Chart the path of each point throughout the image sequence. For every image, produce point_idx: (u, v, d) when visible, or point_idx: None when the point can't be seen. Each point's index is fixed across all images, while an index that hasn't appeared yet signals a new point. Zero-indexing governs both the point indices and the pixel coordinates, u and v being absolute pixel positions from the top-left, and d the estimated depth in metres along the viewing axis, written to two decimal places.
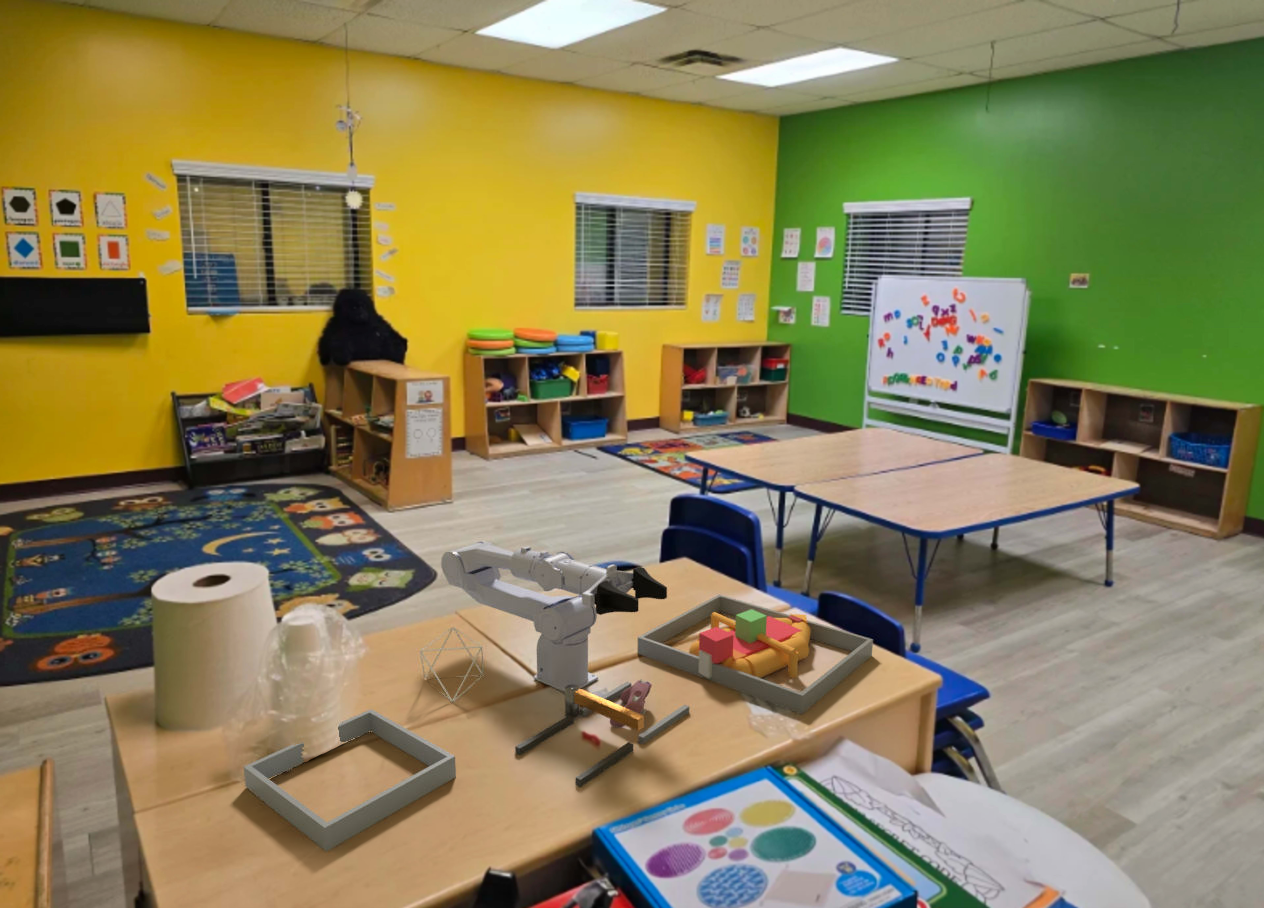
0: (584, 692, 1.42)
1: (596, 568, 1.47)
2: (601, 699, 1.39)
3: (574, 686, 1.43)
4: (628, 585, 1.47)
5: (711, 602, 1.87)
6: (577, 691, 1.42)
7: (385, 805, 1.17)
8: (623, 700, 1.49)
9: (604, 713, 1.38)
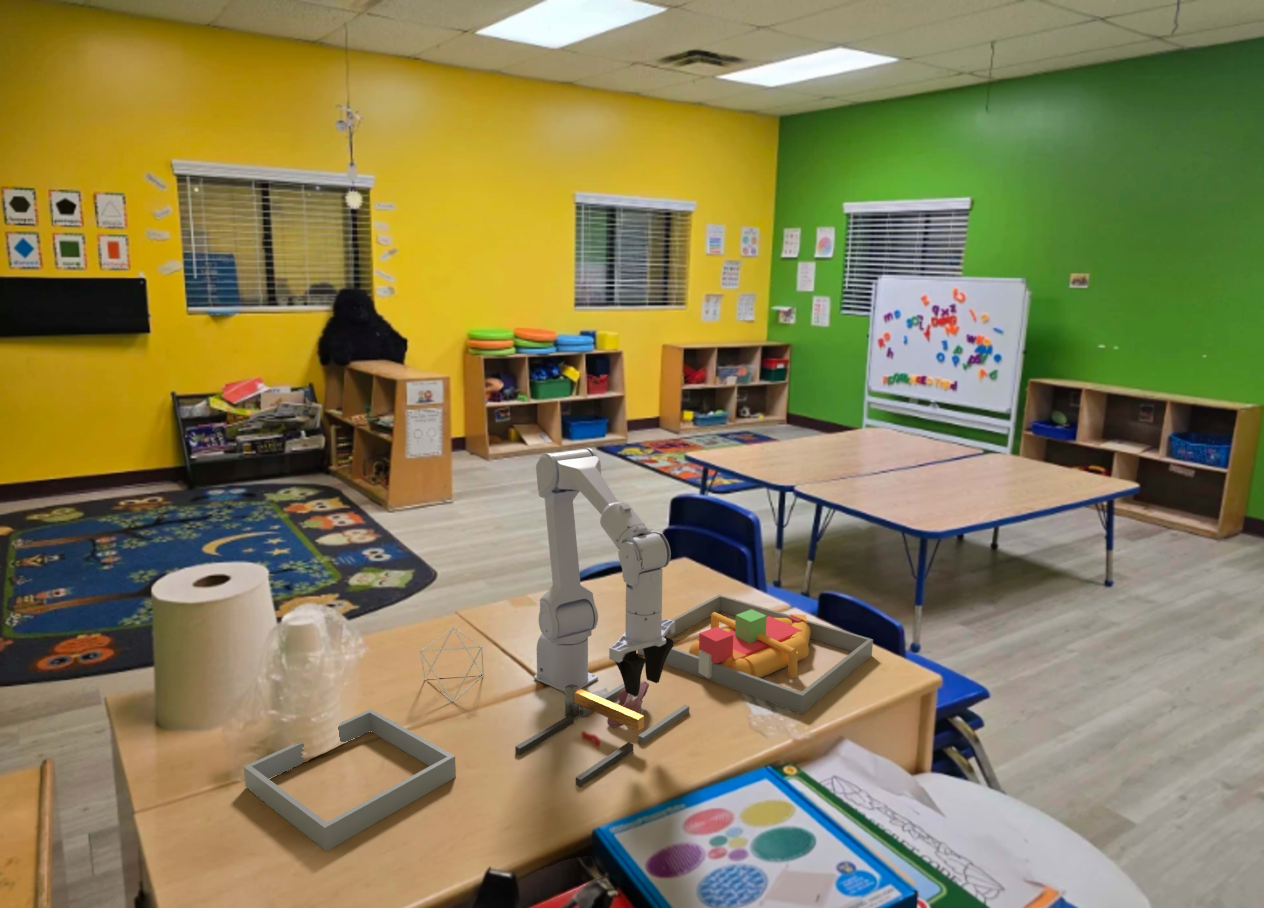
0: (584, 692, 1.42)
1: (656, 621, 1.31)
2: (601, 699, 1.39)
3: (574, 686, 1.43)
4: None
5: (711, 602, 1.87)
6: (577, 691, 1.42)
7: (385, 805, 1.17)
8: (620, 700, 1.49)
9: (604, 713, 1.38)
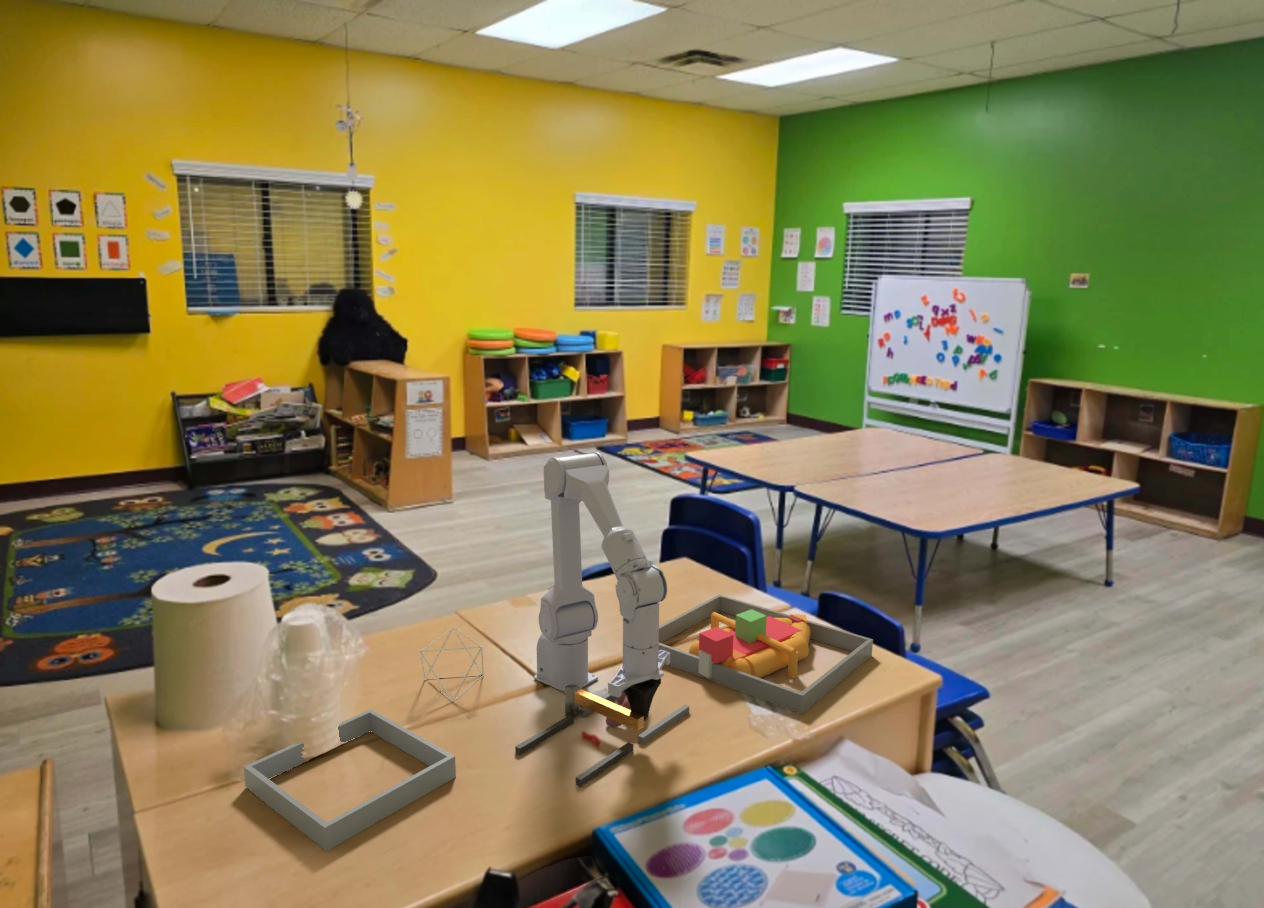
0: (584, 692, 1.42)
1: (654, 654, 1.32)
2: (601, 699, 1.39)
3: (574, 686, 1.43)
4: None
5: (711, 602, 1.87)
6: (577, 691, 1.42)
7: (385, 805, 1.17)
8: (619, 700, 1.49)
9: (604, 713, 1.38)
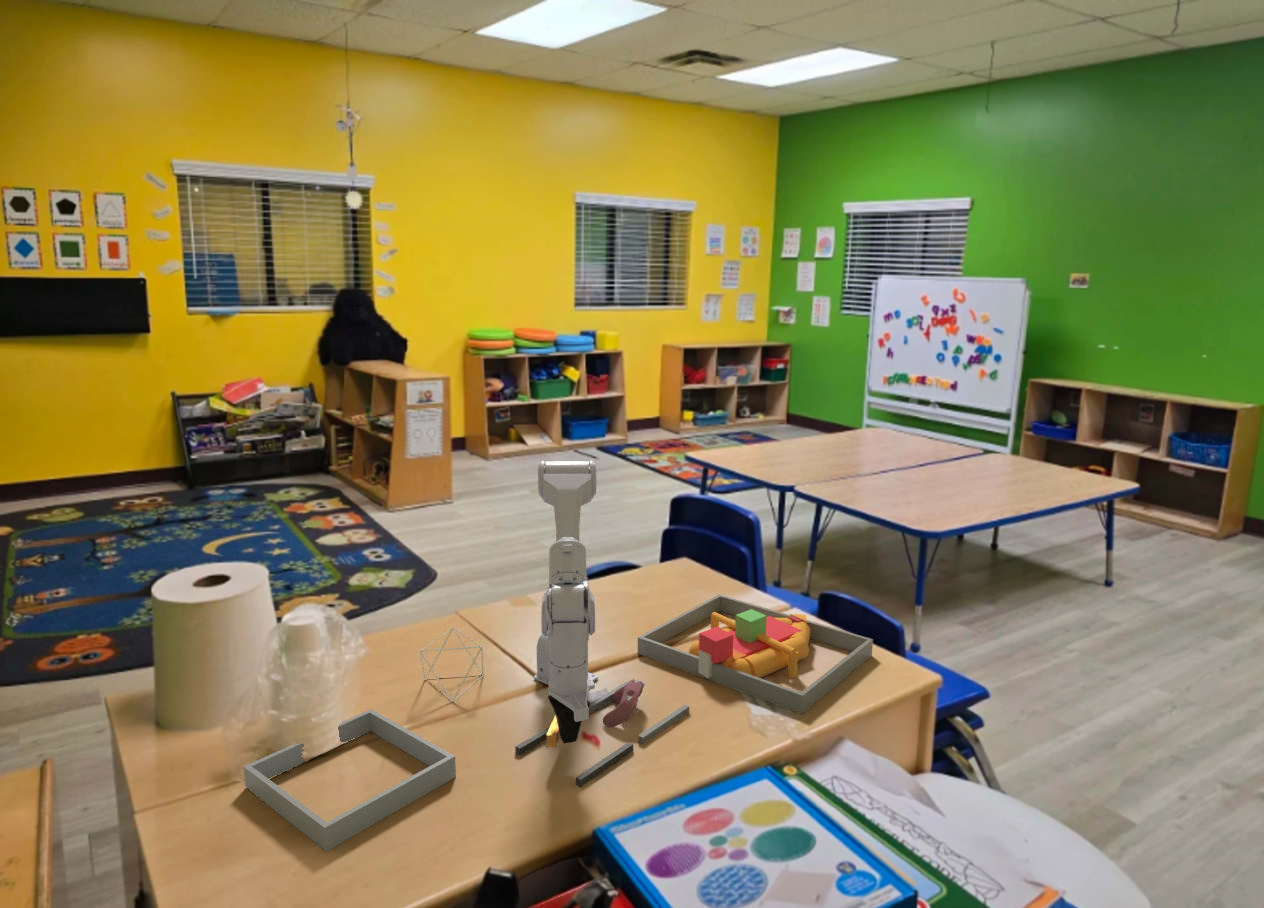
0: None
1: None
2: None
3: None
4: None
5: (711, 602, 1.87)
6: None
7: (385, 805, 1.17)
8: (616, 700, 1.49)
9: None
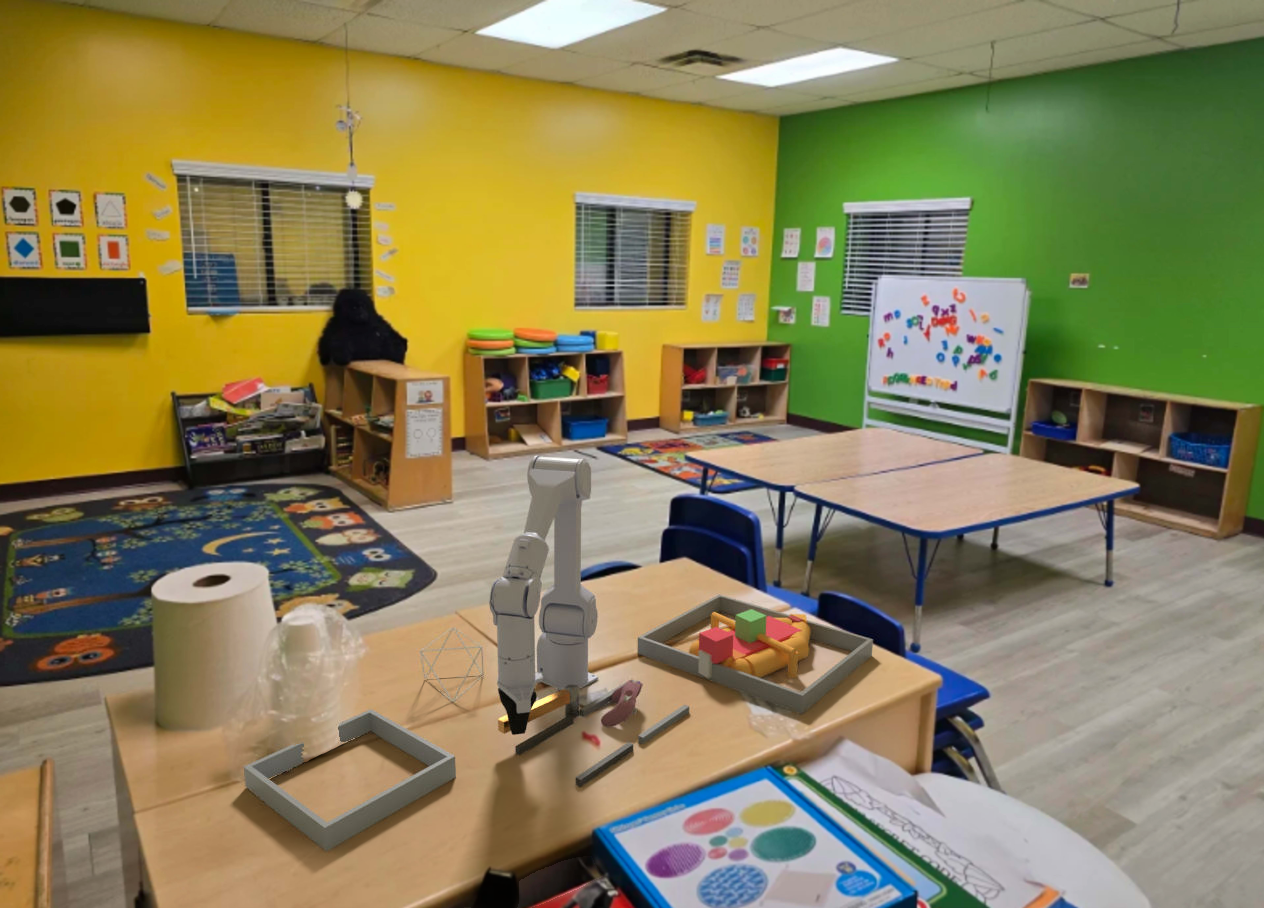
0: (561, 693, 1.41)
1: None
2: (544, 702, 1.38)
3: (573, 688, 1.43)
4: None
5: (711, 602, 1.87)
6: (563, 690, 1.42)
7: (385, 805, 1.17)
8: (614, 700, 1.49)
9: None
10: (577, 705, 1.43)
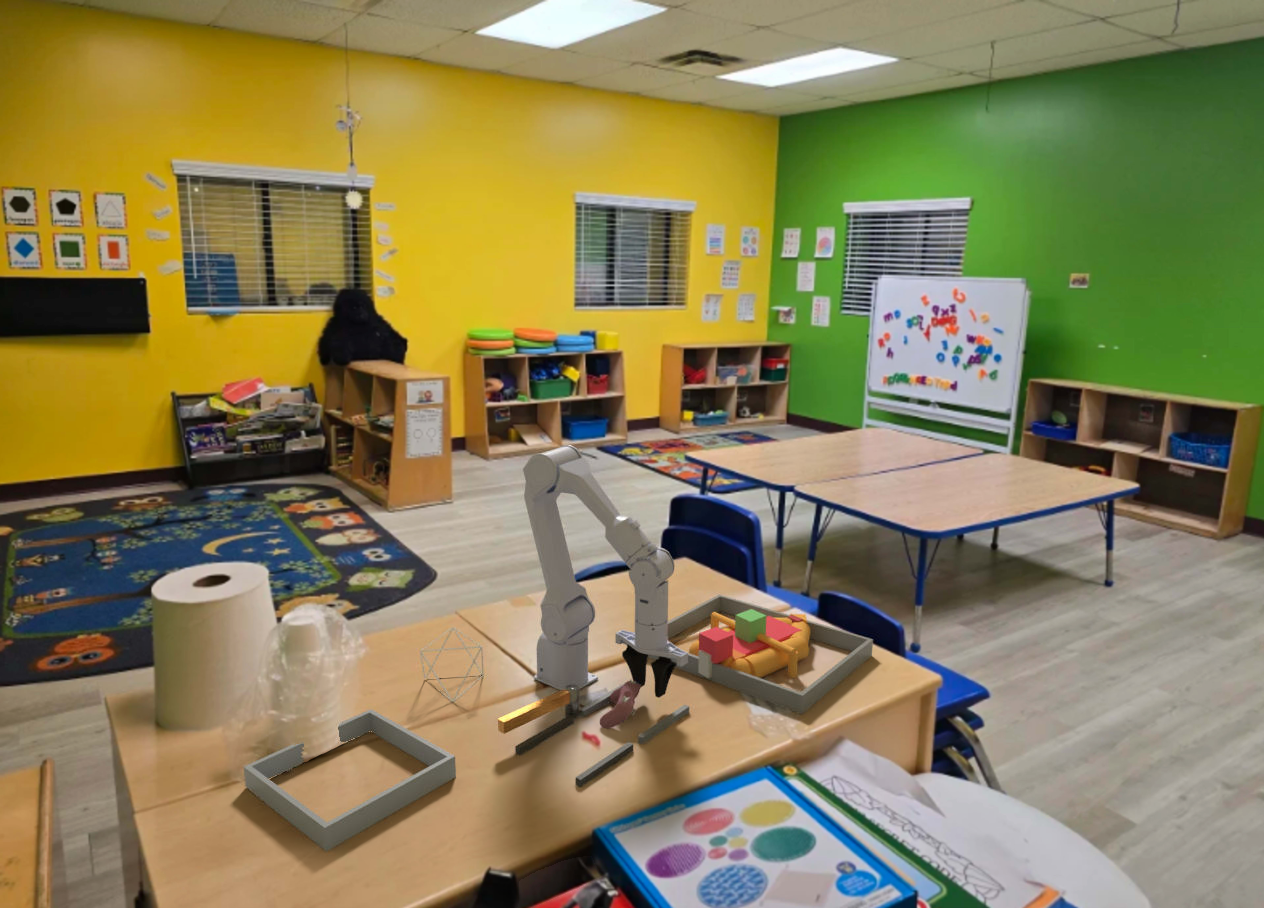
0: (561, 693, 1.41)
1: None
2: (544, 702, 1.38)
3: (573, 688, 1.43)
4: None
5: (711, 602, 1.87)
6: (563, 690, 1.42)
7: (385, 805, 1.17)
8: (613, 701, 1.49)
9: None
10: (577, 705, 1.43)
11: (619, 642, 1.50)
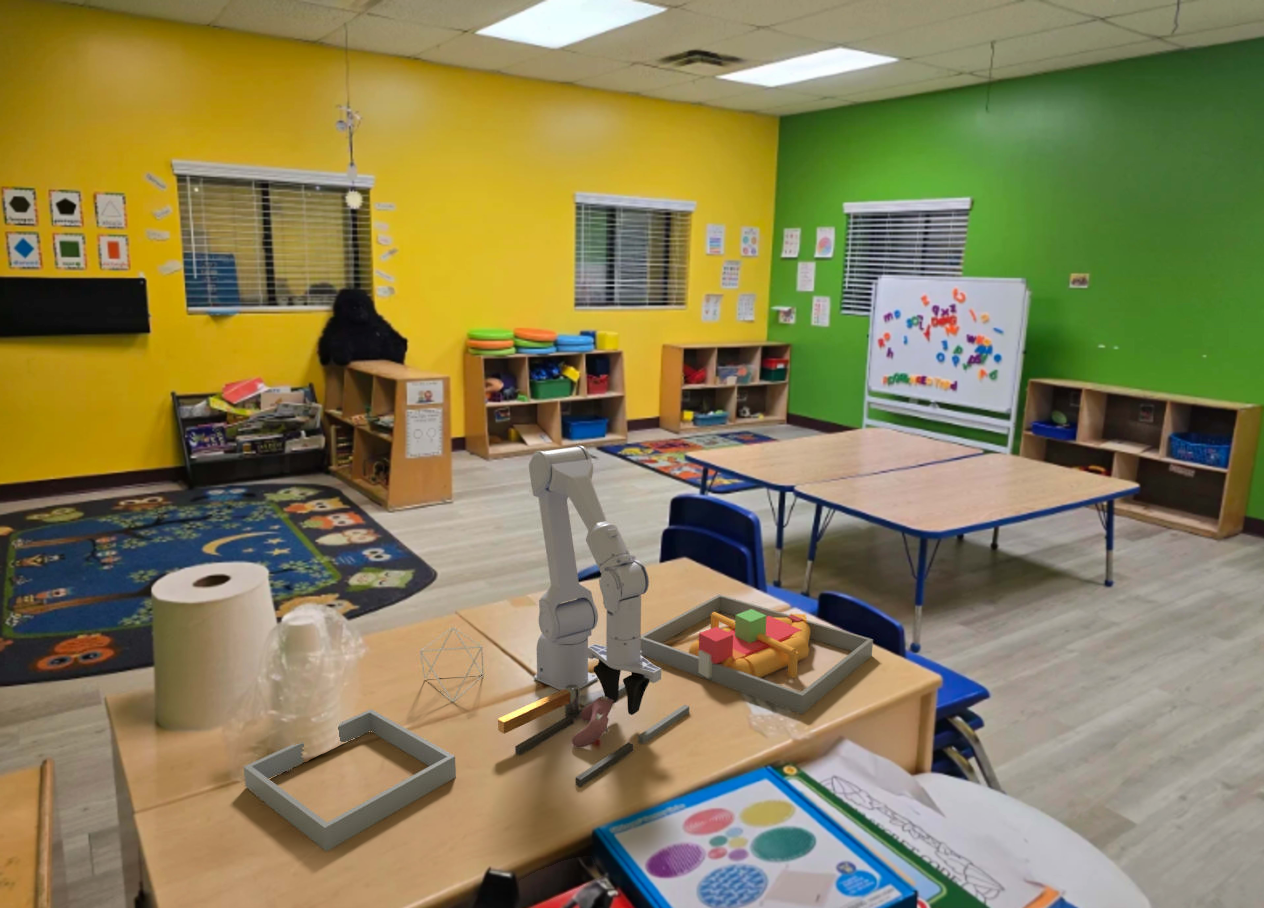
0: (561, 693, 1.41)
1: None
2: (544, 702, 1.38)
3: (573, 688, 1.43)
4: None
5: (711, 602, 1.87)
6: (563, 690, 1.42)
7: (385, 805, 1.17)
8: (583, 718, 1.43)
9: None
10: (577, 705, 1.43)
11: (591, 657, 1.44)
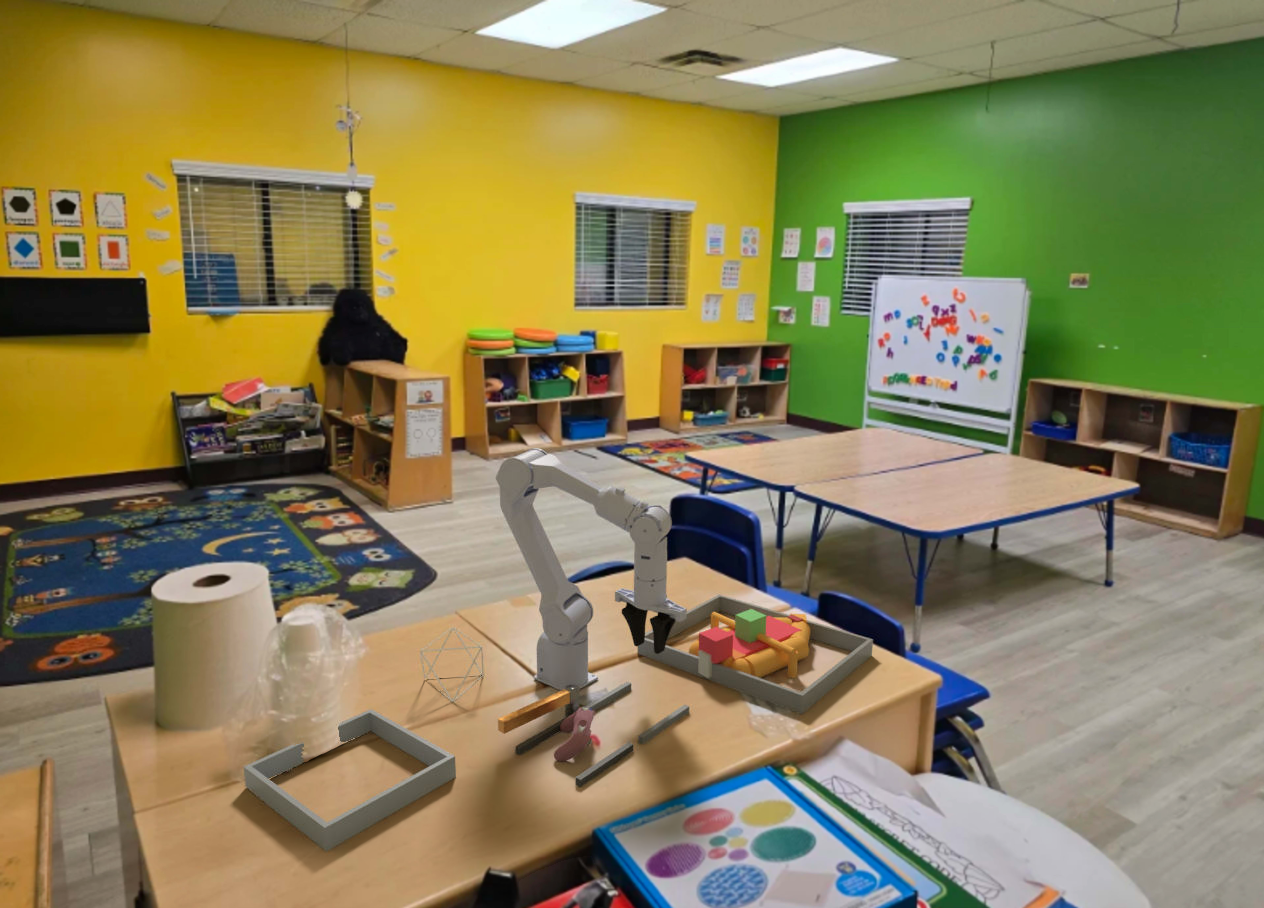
0: (561, 693, 1.41)
1: None
2: (544, 702, 1.38)
3: (573, 688, 1.43)
4: None
5: (711, 602, 1.87)
6: (563, 690, 1.42)
7: (385, 805, 1.17)
8: (563, 730, 1.39)
9: None
10: (577, 705, 1.43)
11: (618, 600, 1.51)
